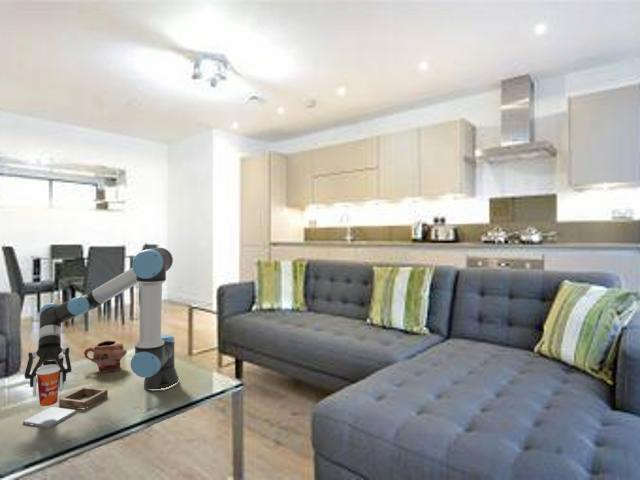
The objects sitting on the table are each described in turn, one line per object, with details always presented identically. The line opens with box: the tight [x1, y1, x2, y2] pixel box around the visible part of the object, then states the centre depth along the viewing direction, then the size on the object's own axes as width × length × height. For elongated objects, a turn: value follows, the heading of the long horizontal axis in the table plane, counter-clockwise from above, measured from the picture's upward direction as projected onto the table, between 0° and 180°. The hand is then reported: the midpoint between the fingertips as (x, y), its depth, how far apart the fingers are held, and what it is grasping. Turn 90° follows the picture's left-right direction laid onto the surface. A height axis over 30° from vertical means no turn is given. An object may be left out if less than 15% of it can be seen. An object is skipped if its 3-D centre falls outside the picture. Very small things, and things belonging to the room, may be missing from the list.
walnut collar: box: [58, 386, 108, 410], centre depth 167 cm, size 12×12×3 cm
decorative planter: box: [83, 340, 128, 373], centre depth 202 cm, size 20×12×14 cm, turn 106°
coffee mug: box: [42, 354, 65, 378], centre depth 192 cm, size 12×9×10 cm
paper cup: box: [36, 364, 60, 407], centre depth 152 cm, size 8×8×14 cm
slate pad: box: [22, 406, 77, 429], centre depth 152 cm, size 12×12×1 cm
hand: (48, 392), depth 149 cm, fingers closed on paper cup, 8 cm apart
